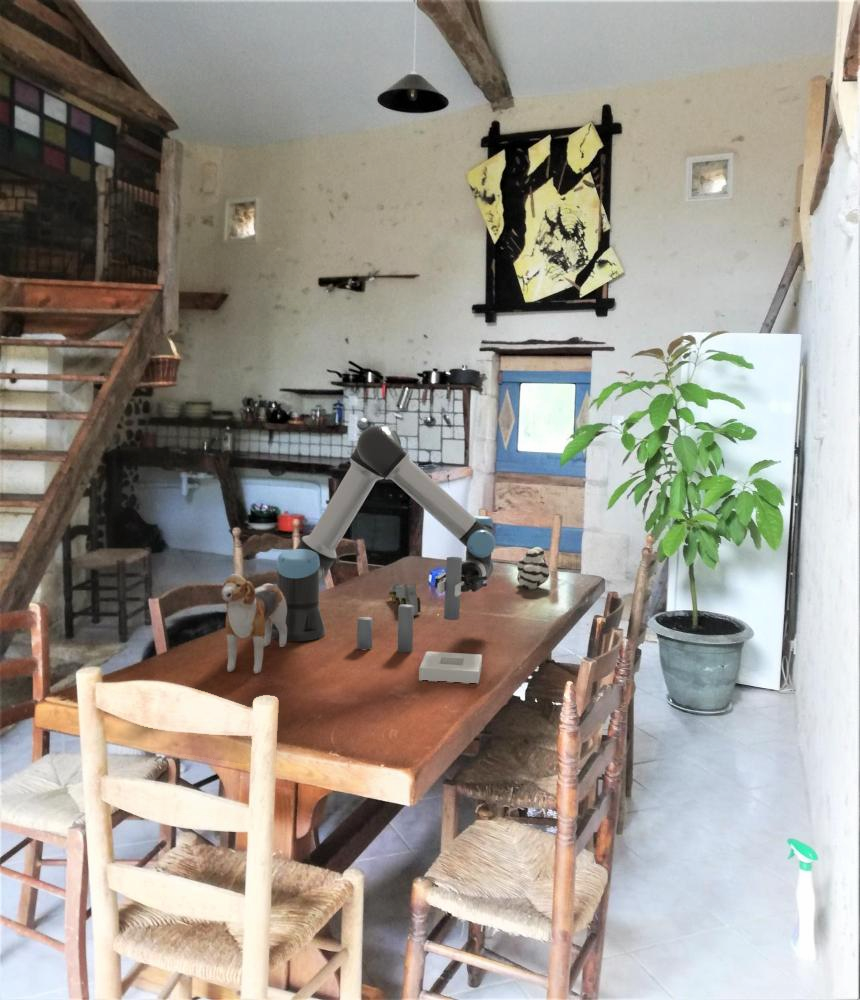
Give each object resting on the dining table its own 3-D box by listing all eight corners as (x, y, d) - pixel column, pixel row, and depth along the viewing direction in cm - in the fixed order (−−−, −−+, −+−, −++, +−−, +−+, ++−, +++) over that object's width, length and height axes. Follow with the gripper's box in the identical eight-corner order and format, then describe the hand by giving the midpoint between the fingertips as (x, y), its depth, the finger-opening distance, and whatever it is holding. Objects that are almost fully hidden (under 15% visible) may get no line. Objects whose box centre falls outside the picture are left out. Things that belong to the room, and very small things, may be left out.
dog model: (204, 687, 182) (203, 577, 179) (265, 639, 222) (266, 549, 219) (244, 690, 180) (245, 579, 178) (299, 641, 221) (300, 551, 218)
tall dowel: (443, 619, 210) (445, 559, 209) (444, 615, 214) (447, 556, 213) (458, 620, 210) (461, 560, 208) (459, 617, 214) (462, 557, 212)
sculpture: (519, 582, 312) (520, 543, 310) (551, 584, 309) (553, 545, 308) (511, 593, 290) (513, 552, 289) (546, 596, 287) (547, 554, 286)
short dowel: (355, 649, 214) (356, 620, 213) (358, 645, 218) (359, 616, 217) (370, 650, 214) (370, 620, 213) (373, 646, 218) (373, 617, 217)
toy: (404, 615, 251) (403, 583, 252) (388, 613, 274) (387, 583, 275) (421, 615, 253) (420, 583, 254) (404, 612, 275) (403, 583, 276)
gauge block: (419, 680, 190) (419, 667, 190) (426, 662, 204) (426, 651, 204) (478, 684, 188) (478, 671, 188) (481, 666, 202) (482, 654, 202)
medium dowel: (396, 652, 213) (397, 607, 212) (398, 647, 217) (399, 604, 216) (411, 653, 212) (412, 608, 211) (413, 648, 216) (414, 604, 215)
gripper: (498, 590, 226) (479, 608, 204) (440, 584, 231) (415, 601, 209) (499, 564, 226) (480, 578, 203) (441, 559, 231) (416, 572, 208)
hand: (447, 590), depth 206 cm, fingers closed on tall dowel, 4 cm apart
